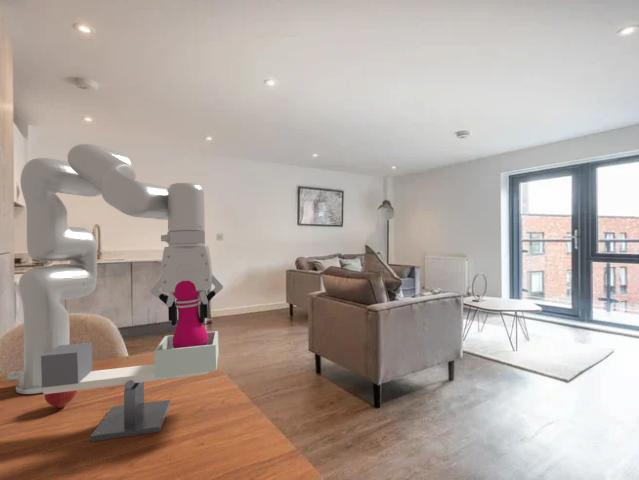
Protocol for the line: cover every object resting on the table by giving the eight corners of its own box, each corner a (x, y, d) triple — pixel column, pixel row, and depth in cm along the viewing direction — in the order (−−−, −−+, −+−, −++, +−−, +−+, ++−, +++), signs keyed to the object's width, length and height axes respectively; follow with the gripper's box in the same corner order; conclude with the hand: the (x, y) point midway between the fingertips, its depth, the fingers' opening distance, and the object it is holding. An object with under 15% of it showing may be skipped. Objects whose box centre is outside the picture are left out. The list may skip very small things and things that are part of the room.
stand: (90, 441, 64) (90, 398, 64) (112, 411, 75) (112, 375, 75) (159, 431, 67) (159, 391, 67) (170, 404, 78) (170, 369, 78)
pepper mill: (197, 367, 69) (191, 270, 69) (166, 366, 71) (159, 272, 70) (215, 354, 76) (209, 266, 76) (186, 354, 78) (180, 268, 77)
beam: (35, 404, 62) (33, 360, 62) (65, 380, 73) (64, 342, 73) (216, 381, 70) (215, 341, 70) (218, 362, 81) (217, 328, 81)
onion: (51, 416, 73) (51, 379, 73) (40, 409, 76) (40, 374, 76) (81, 405, 78) (81, 370, 78) (70, 399, 81) (70, 366, 81)
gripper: (139, 240, 68) (141, 330, 68) (226, 238, 73) (228, 323, 72) (148, 241, 75) (150, 322, 75) (227, 239, 80) (229, 316, 79)
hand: (188, 322), depth 74 cm, fingers open, 5 cm apart
